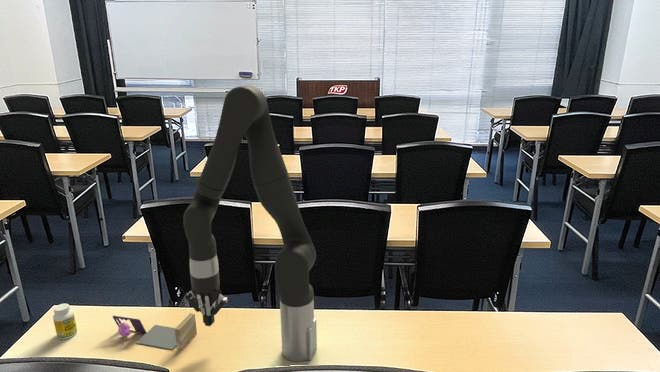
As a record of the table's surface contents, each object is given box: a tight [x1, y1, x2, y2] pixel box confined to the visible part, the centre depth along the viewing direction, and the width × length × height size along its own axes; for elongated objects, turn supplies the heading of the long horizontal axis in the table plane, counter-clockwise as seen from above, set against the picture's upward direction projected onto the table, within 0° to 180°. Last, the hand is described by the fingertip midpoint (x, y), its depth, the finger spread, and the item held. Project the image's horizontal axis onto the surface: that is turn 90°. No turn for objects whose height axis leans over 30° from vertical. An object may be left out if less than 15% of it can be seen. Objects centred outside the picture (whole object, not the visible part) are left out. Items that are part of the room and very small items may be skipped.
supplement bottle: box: [52, 303, 78, 340], centre depth 135 cm, size 5×5×10 cm
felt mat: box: [136, 324, 177, 351], centre depth 134 cm, size 12×9×1 cm
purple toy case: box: [112, 314, 148, 341], centre depth 134 cm, size 7×5×9 cm
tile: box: [174, 312, 198, 352], centre depth 131 cm, size 2×8×7 cm, turn 165°
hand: (209, 324), depth 129 cm, fingers closed
